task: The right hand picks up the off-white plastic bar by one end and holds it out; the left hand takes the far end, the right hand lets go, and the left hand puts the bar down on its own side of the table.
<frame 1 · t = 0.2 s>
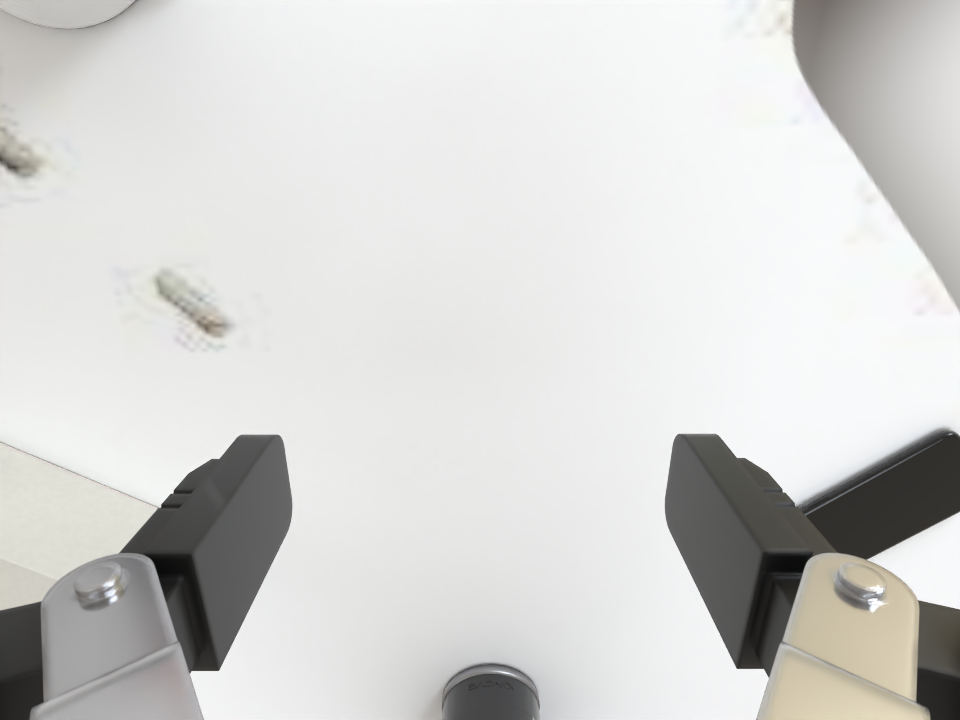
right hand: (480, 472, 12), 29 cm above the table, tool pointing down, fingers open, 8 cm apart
smartphone: (871, 507, 47), on the table
bar: (66, 494, 46), on the table
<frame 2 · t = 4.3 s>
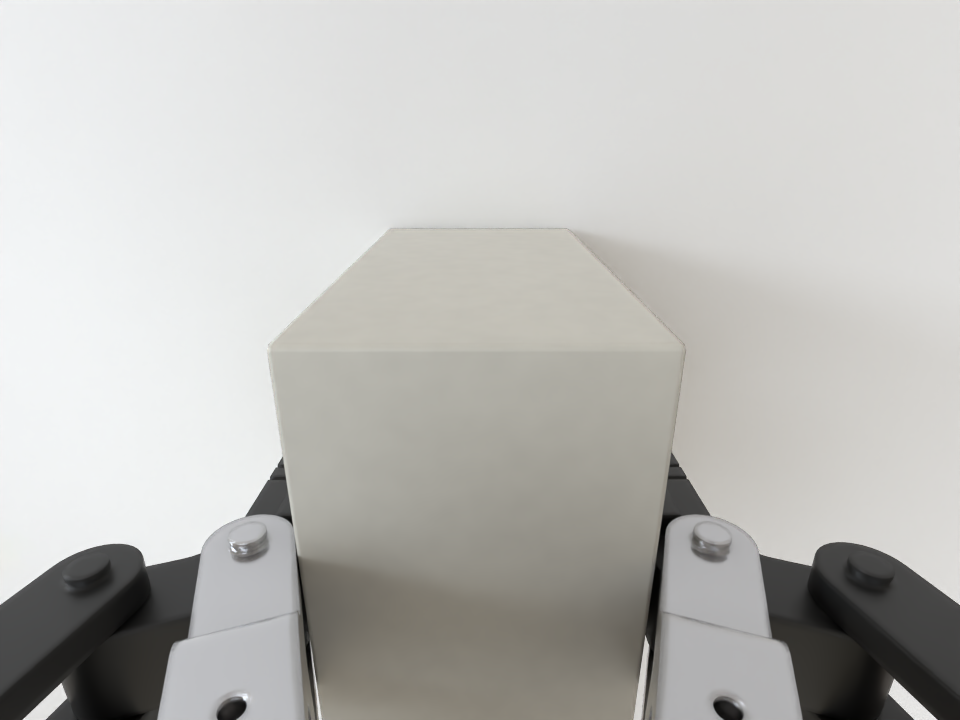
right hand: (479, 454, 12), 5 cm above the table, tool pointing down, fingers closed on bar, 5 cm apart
bar: (479, 571, 19), on the table, touching right hand
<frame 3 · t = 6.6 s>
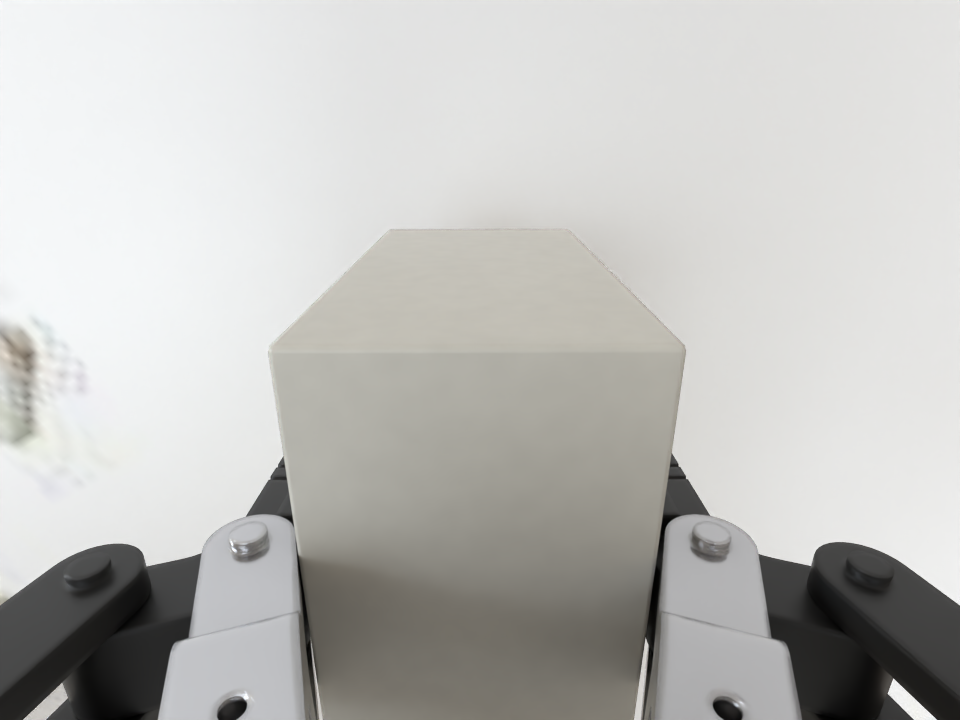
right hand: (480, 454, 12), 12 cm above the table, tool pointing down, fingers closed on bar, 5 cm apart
bar: (479, 571, 19), point 7 cm above the table, touching right hand
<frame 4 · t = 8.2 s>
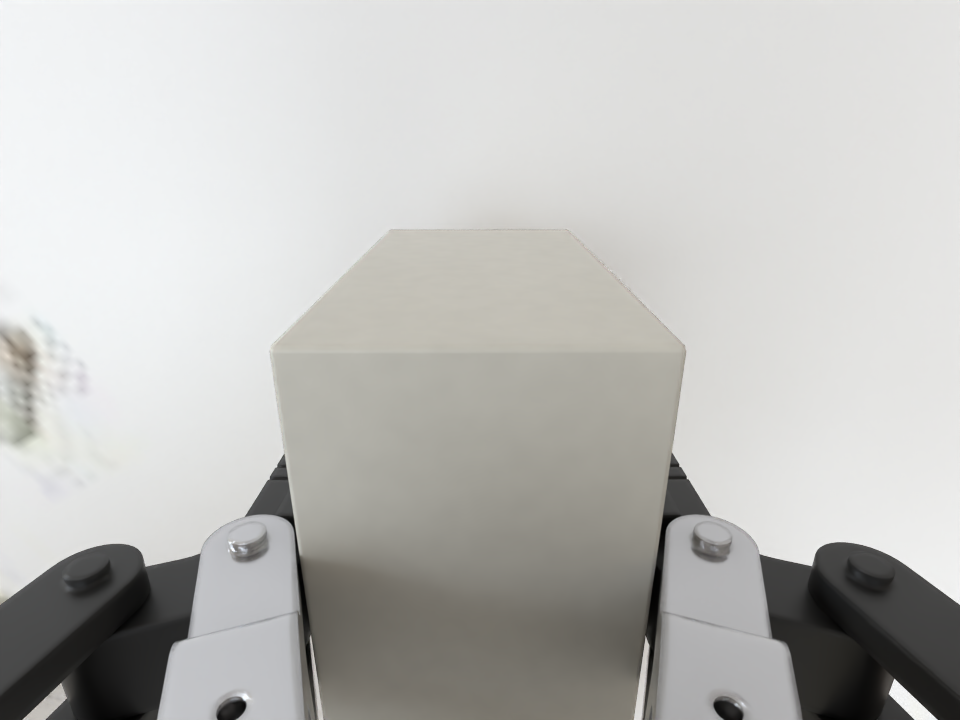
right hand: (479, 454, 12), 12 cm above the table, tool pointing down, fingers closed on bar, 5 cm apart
bar: (479, 571, 19), point 7 cm above the table, touching right hand, left hand
when the right hand's fingers open (12 cm above the table, at t = 9.1 s): bar stays where it is, held by the left hand.
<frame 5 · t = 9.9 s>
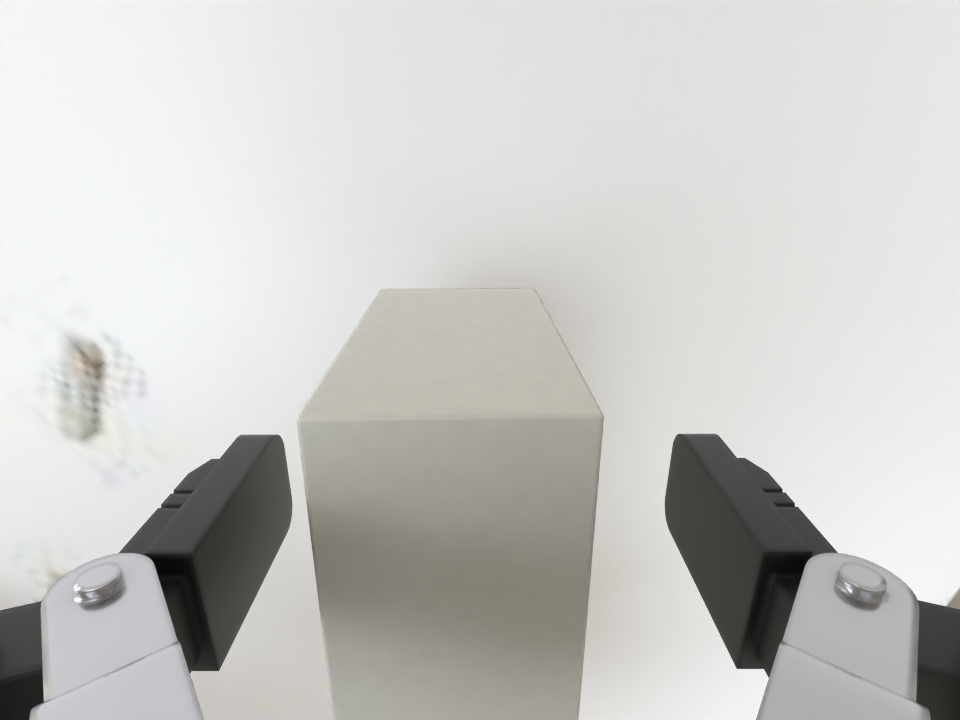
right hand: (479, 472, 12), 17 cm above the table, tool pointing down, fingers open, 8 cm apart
bar: (461, 586, 21), point 10 cm above the table, touching left hand
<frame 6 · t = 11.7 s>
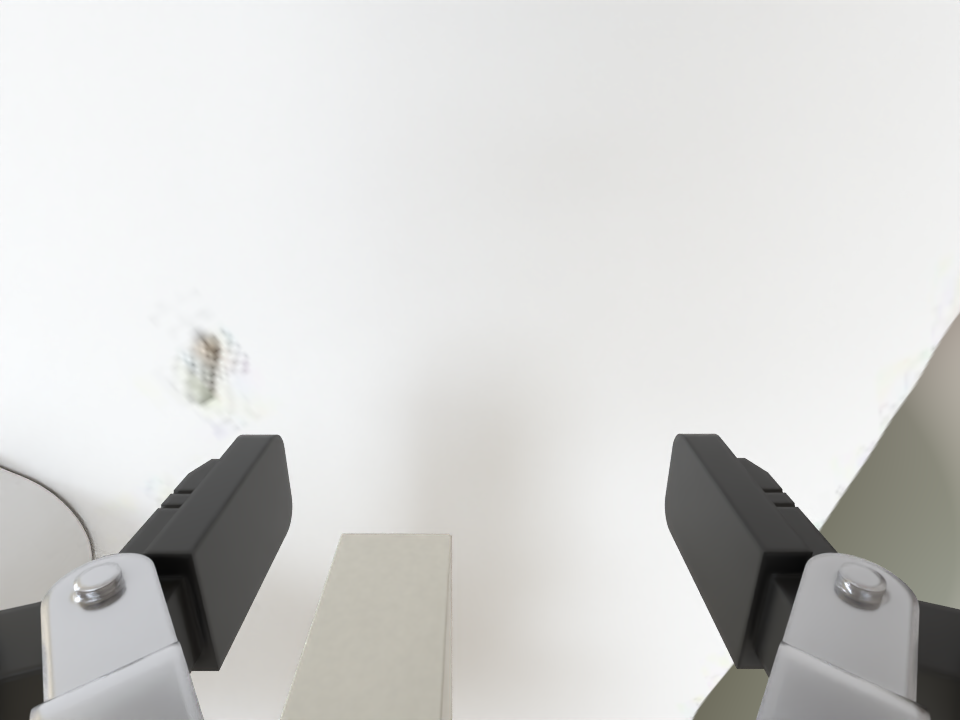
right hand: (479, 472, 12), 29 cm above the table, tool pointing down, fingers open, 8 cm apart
bar: (405, 716, 29), point 18 cm above the table, touching left hand
when the left hand's fingers open (5 cm above the table, at t = 15.7 s): bar drops 1 cm, on the table.
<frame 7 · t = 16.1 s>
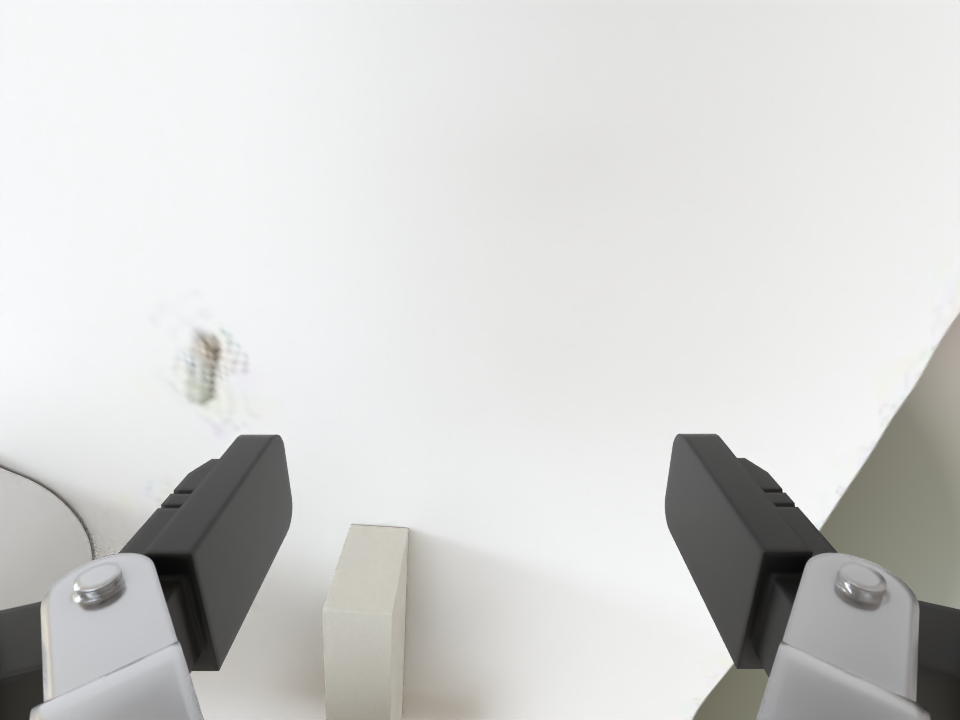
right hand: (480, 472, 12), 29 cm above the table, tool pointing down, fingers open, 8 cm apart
bar: (378, 629, 51), on the table
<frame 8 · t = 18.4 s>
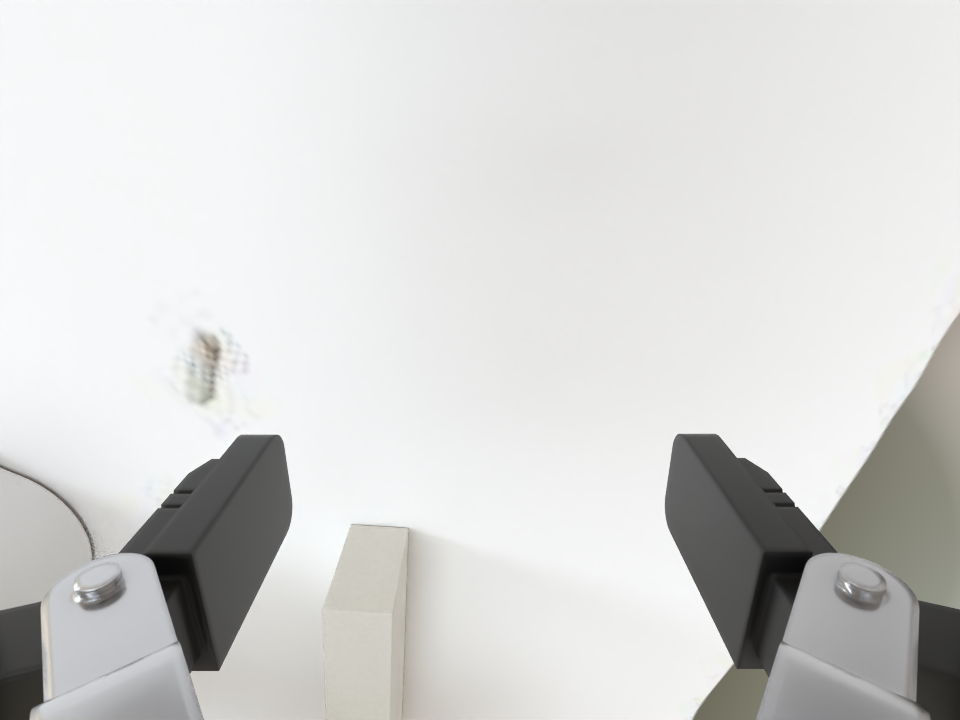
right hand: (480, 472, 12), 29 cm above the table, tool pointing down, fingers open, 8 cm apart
bar: (378, 629, 51), on the table
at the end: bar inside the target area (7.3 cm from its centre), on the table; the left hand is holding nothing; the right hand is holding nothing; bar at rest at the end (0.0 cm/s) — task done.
